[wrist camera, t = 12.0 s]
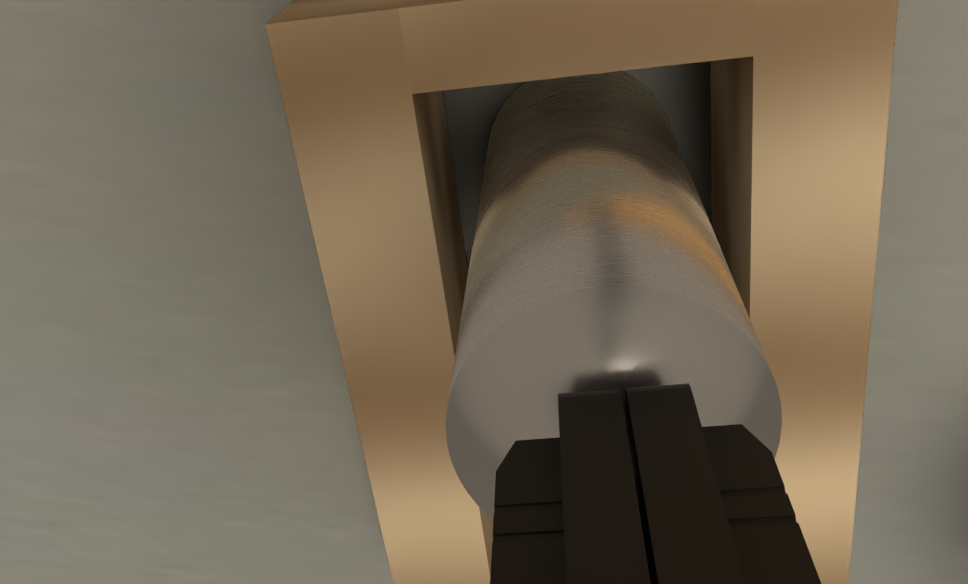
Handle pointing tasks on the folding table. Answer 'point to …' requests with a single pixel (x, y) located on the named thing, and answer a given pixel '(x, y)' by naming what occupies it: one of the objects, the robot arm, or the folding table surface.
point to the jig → (735, 217)
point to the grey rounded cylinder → (593, 278)
